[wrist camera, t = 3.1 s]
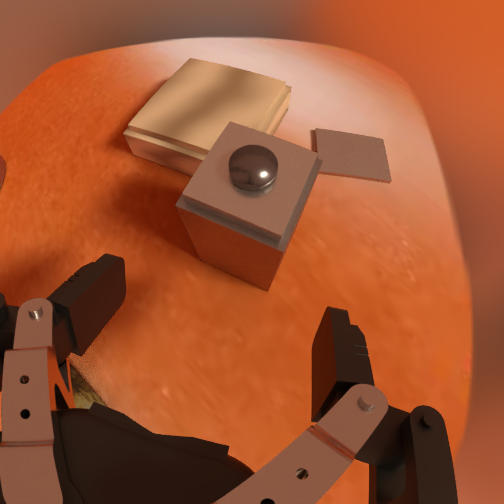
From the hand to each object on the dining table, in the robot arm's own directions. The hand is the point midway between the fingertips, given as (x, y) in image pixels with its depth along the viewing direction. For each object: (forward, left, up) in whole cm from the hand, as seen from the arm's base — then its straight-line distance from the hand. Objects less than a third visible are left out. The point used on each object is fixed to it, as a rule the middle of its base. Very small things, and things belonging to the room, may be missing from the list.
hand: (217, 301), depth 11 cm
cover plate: (+4, +18, -11) cm, 21 cm away
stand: (-9, +15, -10) cm, 20 cm away
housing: (-1, +6, -10) cm, 12 cm away
